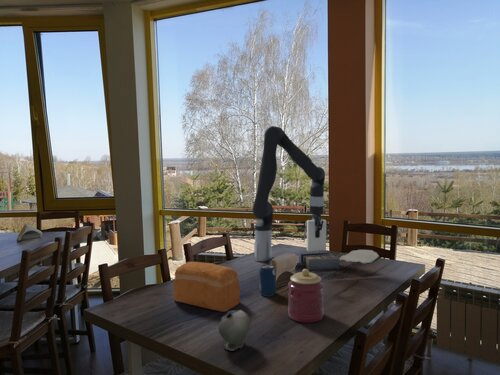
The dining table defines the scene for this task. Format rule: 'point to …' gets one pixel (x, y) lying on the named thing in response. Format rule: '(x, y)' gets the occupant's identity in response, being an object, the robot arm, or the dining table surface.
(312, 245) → the cream board
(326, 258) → the offcut block right
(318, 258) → the offcut block left
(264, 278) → the soda can
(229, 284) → the bread
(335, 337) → the dining table surface
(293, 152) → the robot arm
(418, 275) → the dining table surface
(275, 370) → the dining table surface
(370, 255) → the stone tablet
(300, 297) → the canister
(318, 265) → the metal rack
